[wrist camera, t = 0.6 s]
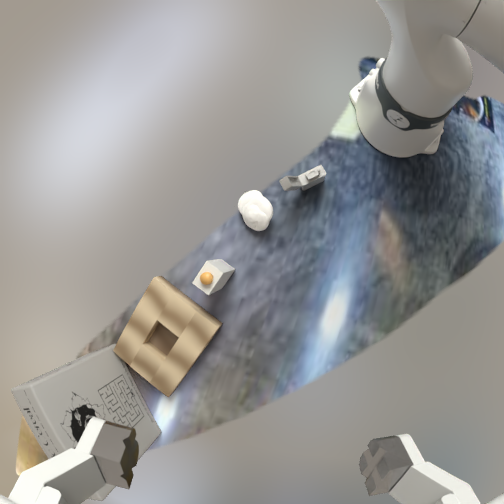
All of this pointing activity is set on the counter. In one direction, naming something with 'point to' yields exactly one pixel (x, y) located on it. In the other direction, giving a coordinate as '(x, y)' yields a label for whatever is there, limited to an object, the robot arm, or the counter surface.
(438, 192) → the counter surface
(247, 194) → the dumpling
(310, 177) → the lighter
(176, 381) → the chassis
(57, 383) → the cereal box
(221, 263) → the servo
